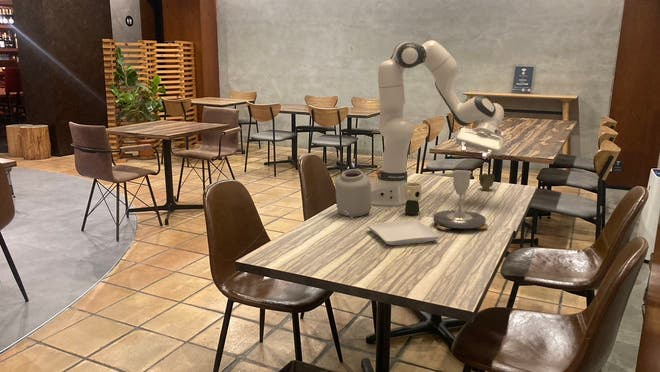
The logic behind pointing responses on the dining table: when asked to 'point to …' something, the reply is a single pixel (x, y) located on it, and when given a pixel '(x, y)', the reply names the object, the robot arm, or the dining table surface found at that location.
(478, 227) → the plate
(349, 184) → the jar
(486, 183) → the cup
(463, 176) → the chalice
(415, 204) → the character mug
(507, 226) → the dining table surface
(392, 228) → the salad plate
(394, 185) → the robot arm
